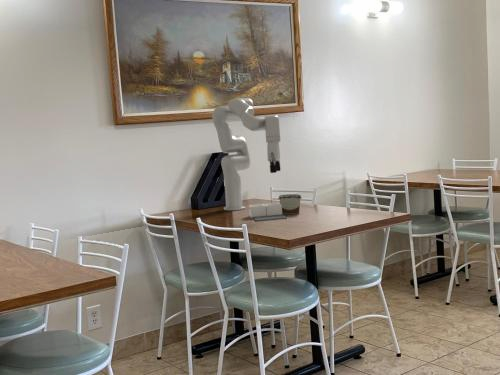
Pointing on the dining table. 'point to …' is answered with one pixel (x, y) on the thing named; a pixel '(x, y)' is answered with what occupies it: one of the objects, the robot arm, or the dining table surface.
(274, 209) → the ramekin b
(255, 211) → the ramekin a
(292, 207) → the food container
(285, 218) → the mat
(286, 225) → the dining table surface
